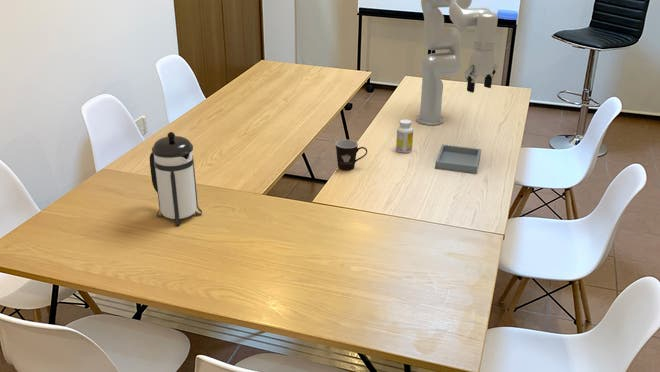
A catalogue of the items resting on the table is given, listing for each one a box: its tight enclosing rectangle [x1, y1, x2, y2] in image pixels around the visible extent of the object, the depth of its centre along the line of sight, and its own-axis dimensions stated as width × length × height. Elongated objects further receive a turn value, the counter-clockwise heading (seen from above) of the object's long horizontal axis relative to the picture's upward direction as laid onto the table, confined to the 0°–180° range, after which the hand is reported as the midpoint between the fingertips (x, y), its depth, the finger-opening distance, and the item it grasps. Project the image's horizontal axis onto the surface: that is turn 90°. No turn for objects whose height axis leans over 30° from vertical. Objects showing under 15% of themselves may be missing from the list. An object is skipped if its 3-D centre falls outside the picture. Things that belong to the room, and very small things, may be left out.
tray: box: [434, 144, 482, 175], centre depth 258 cm, size 18×16×3 cm
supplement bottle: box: [395, 119, 414, 154], centre depth 265 cm, size 7×7×13 cm
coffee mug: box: [335, 139, 368, 172], centre depth 250 cm, size 12×9×10 cm
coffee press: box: [149, 131, 203, 227], centre depth 210 cm, size 17×16×30 cm
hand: (478, 89), depth 251 cm, fingers open, 9 cm apart
